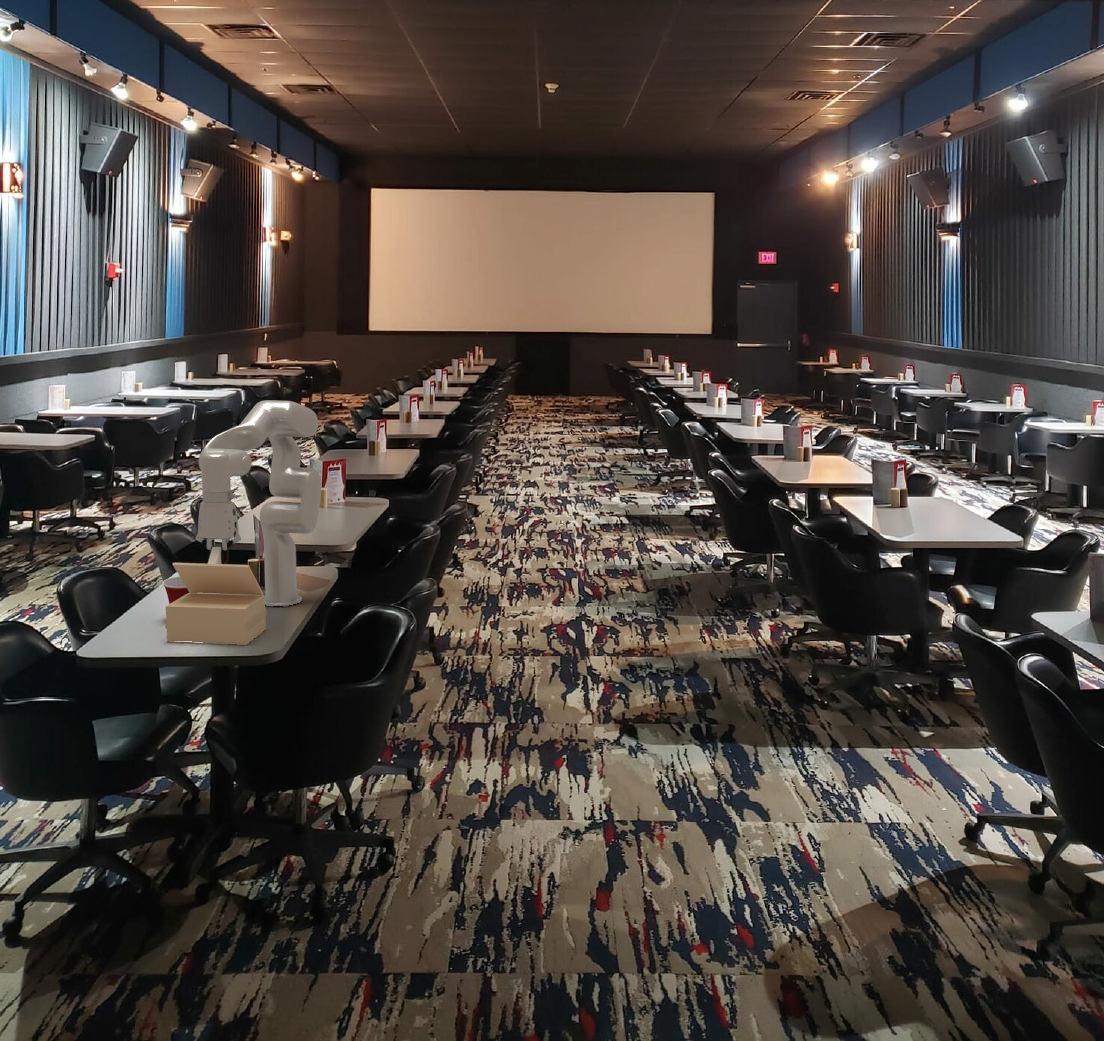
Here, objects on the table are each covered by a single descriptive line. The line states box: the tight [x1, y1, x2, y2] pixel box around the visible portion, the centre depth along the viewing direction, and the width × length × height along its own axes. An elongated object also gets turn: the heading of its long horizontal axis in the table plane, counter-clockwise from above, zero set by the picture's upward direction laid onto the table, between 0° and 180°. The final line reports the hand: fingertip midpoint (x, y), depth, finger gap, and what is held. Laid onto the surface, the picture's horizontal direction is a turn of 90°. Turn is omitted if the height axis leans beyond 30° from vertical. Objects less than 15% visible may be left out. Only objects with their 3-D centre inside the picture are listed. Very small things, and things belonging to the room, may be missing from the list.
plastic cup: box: [161, 575, 190, 605], centre depth 341 cm, size 11×11×12 cm
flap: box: [172, 546, 264, 595], centre depth 327 cm, size 15×21×7 cm
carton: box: [164, 593, 267, 646], centre depth 325 cm, size 16×22×10 cm
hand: (219, 562), depth 325 cm, fingers closed on flap, 2 cm apart
